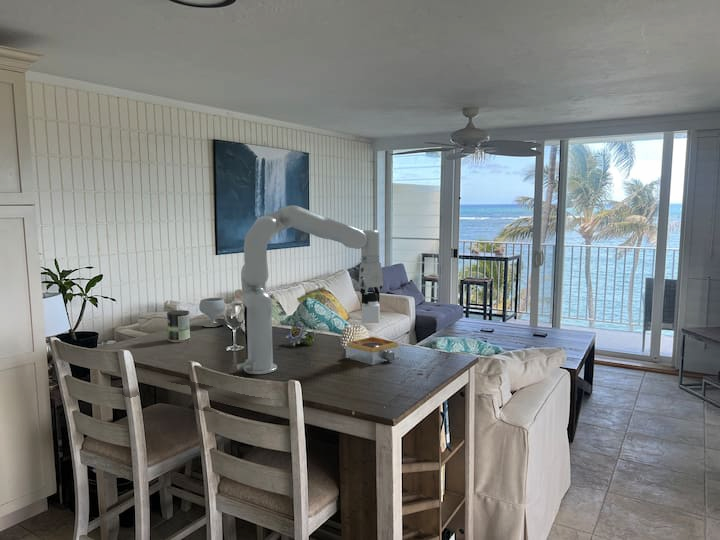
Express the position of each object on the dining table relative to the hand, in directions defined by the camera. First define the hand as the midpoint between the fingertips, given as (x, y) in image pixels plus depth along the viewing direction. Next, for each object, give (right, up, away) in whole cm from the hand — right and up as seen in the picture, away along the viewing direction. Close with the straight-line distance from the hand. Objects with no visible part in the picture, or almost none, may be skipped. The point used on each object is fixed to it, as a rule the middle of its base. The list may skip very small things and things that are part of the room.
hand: (370, 302), depth 213 cm
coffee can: (-93, -21, +37) cm, 102 cm away
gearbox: (+2, -24, +1) cm, 24 cm away
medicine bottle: (0, -8, +1) cm, 8 cm away
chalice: (-86, -18, +69) cm, 112 cm away
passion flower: (-32, -22, +27) cm, 47 cm away
